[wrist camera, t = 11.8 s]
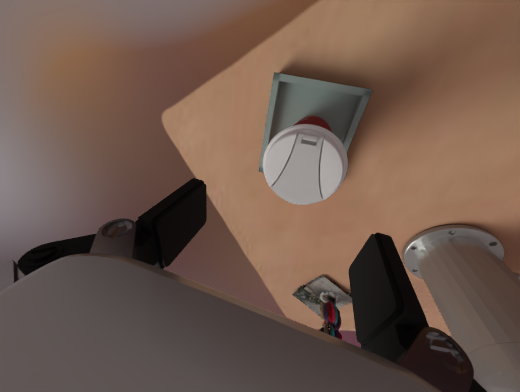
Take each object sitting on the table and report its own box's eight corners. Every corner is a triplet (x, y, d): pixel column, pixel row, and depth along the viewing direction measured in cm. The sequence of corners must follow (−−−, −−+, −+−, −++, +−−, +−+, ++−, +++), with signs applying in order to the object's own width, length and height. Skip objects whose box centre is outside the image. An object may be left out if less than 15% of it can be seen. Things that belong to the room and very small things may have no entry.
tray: (368, 89, 24) (372, 89, 22) (330, 183, 32) (330, 190, 30) (278, 73, 26) (274, 72, 24) (262, 165, 34) (258, 171, 32)
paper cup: (290, 103, 27) (264, 119, 15) (346, 112, 25) (365, 137, 14) (281, 156, 31) (255, 199, 19) (328, 165, 29) (331, 219, 18)
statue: (323, 269, 44) (329, 339, 31) (353, 292, 45) (372, 370, 31) (292, 290, 49) (286, 358, 36) (319, 311, 50) (323, 384, 36)
